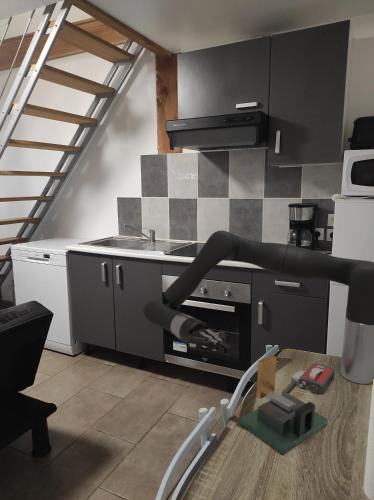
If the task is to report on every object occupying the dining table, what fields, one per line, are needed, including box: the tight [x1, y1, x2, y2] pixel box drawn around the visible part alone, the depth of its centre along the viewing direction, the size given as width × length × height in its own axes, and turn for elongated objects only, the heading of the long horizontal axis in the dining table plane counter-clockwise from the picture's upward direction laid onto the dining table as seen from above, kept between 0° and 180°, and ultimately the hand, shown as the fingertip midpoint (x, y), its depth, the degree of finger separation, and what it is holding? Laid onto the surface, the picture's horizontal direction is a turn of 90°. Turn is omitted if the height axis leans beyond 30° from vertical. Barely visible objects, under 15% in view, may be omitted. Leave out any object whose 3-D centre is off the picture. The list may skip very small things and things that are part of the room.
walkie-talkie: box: [281, 362, 335, 395], centre depth 100 cm, size 9×4×20 cm
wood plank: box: [256, 354, 296, 412], centre depth 84 cm, size 5×8×9 cm, turn 38°
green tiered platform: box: [239, 392, 328, 455], centre depth 83 cm, size 16×12×7 cm
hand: (229, 351), depth 96 cm, fingers closed
